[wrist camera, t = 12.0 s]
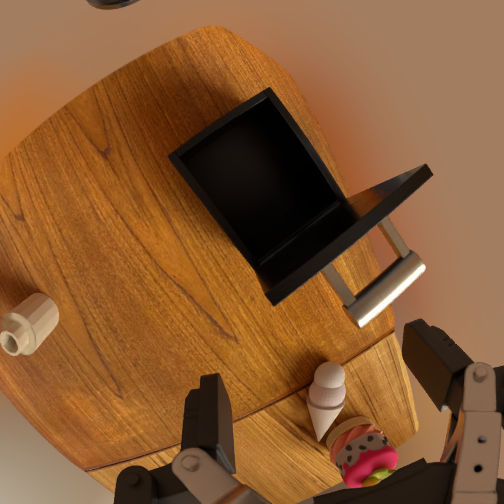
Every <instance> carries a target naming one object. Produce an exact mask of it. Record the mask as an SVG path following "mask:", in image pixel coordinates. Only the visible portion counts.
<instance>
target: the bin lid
mask: <svg viewBox="0 0 504 504" xmlns="http://www.w3.org/2000/svg"><path fill="white" fill-rule="evenodd" d="M432 176H433V173H432V172H431V170H430V168H429V167H428V165H427V164H423V165H421V166H419V167H417V168H414V169H412V170H410V171H408V172H405V173H403V174H401V175H399V176H396V177H394V178H392V179H390V180H387V181H385V182H383V183H380V184H378V185H376V186H374V187H371V188H369V189H367V190H365V191H362V192H361V193H358V194H356V195H353V196H351V197H349V198H347V199H346V200H344V201H343V202H342V203H341V204H339V205H338V206H337V207H335V208H334V209H333V210H332V211H330V212H329V213H328V214H326V215H325V216H324V217H323V218H321V219H320V220H319V221H317V222H316V223H315V224H314V225H312V226H311V227H310V228H308V229H307V230H306V231H305V232H303V233H302V234H301V235H299V236H298V237H297V238H295V239H294V240H293V241H292V242H290V243H289V244H288V245H286V246H285V247H284V248H282V249H281V250H280V251H278V252H277V253H276V254H275V255H273V256H272V257H271V258H269V259H268V260H267V261H265V262H264V263H263V264H261V265H260V266H259V267H258V268H256V269H255V270H254V271H255V274H256V276H257V278H258V281H259V283H260V285H261V287H262V290H263V292H264V294H265V296H266V297H267V299H268V300H269V301H270V302H271V304H272V305H273V306H274V307H275V306H276V305H277V304H279V303H280V302H281V301H283V300H284V299H285V298H287V297H288V296H289V295H291V294H292V293H293V292H295V291H296V290H297V289H298V288H300V287H301V286H302V285H304V284H305V283H306V282H307V281H309V280H310V279H311V278H313V277H314V276H315V275H316V274H318V273H319V272H321V273H322V275H323V276H324V277H325V279H326V280H327V282H328V283H329V284H330V286H331V287H332V289H333V290H334V291H335V293H336V294H337V296H338V297H339V298H340V300H341V301H342V303H343V304H344V305H343V306H342V308H343V310H344V312H345V314H346V315H347V316H348V318H349V319H350V320H351V321H352V323H353V324H354V325H355V326H356V327H357V328H358V329H362V328H363V327H364V326H365V325H366V324H368V323H369V322H370V321H371V320H372V319H373V318H375V317H376V316H377V315H378V314H379V313H380V312H381V311H383V310H384V309H385V308H386V307H387V306H388V305H389V304H391V303H392V302H393V301H394V300H395V299H396V298H397V297H398V296H399V295H400V294H401V293H403V292H404V291H405V290H406V289H407V288H408V287H409V286H410V285H411V284H412V283H413V282H414V281H415V280H416V279H417V278H418V277H419V276H420V275H421V274H422V273H424V271H425V265H424V263H423V261H422V259H421V258H420V257H419V255H418V254H416V253H415V252H414V251H412V250H409V249H408V247H407V246H406V244H405V242H404V241H403V239H402V237H401V236H400V234H399V233H398V231H397V230H396V228H395V227H394V225H393V223H392V222H391V220H390V219H389V218H388V215H389V214H390V213H391V212H392V211H393V210H395V209H396V208H397V207H398V206H399V205H400V204H402V203H403V202H404V201H405V200H406V199H407V198H408V197H410V195H412V194H413V193H414V192H415V191H416V190H417V189H419V188H420V187H421V186H422V185H423V184H424V183H425V182H426V181H427V180H428V179H430V178H431V177H432ZM376 225H377V226H378V227H379V229H380V230H381V232H382V233H383V235H384V236H385V238H386V239H387V241H388V242H389V244H390V245H391V247H392V249H393V250H394V252H395V253H396V255H397V257H398V258H397V259H396V260H395V261H394V262H393V263H392V264H391V265H390V266H389V267H387V268H386V269H385V270H384V271H383V272H382V273H381V274H379V275H378V276H377V277H376V278H375V279H374V280H373V281H371V282H370V283H369V284H368V285H367V286H366V287H364V288H363V289H362V290H361V291H360V292H358V293H357V294H356V295H355V296H354V295H353V293H352V292H351V291H350V289H349V288H348V286H347V285H346V283H345V282H344V280H343V279H342V278H341V276H340V275H339V273H338V272H337V270H336V269H335V268H334V266H333V265H332V263H331V262H333V261H334V260H335V259H336V258H338V257H339V256H340V255H341V254H342V253H344V252H345V251H346V250H347V249H349V248H350V247H351V246H352V245H353V244H355V243H356V242H357V241H358V240H359V239H361V238H362V237H363V236H364V235H365V234H367V233H368V232H369V231H370V230H371V229H373V228H374V227H375V226H376Z"/></svg>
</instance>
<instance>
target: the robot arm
mask: <svg viewBox="0 0 504 504" xmlns="http://www.w3.org/2000/svg"><path fill="white" fill-rule="evenodd" d="M402 356H403V360H404V362H405V364H406V365H407V366H408V368H409V369H410V370H411V372H412V373H413V374H414V376H415V377H416V379H417V380H418V381H419V383H420V384H421V386H422V387H423V388H424V390H425V391H426V393H427V394H428V395H429V397H430V398H431V400H432V401H433V403H434V404H435V405H436V407H437V408H438V410H439V411H440V412H441V411H443V410H445V409H447V408H449V409H450V410H451V413H450V417H449V423H448V430H447V435H446V441H445V446H444V450H443V454H442V457H441V459H440V462H433V463H426V461H425V459H424V458H422V459H420V460H418V461H416V462H413V463H411V464H409V465H407V466H404V467H402V468H400V469H398V470H397V471H395V472H394V473H392V474H391V475H389V476H388V477H386V478H385V479H384V480H382V481H380V482H379V483H377V484H376V485H373V486H368V487H360V488H351V489H342V490H338V491H335V492H331V493H328V494H324V495H320V496H316V497H313V500H314V504H504V480H503V479H500V478H497V474H498V467H499V457H500V443H501V426H502V428H503V429H504V366H500V367H496V368H492V367H491V366H490V365H488V364H486V363H482V362H476V363H474V362H473V361H472V360H471V358H469V357H468V355H467V354H466V353H465V352H464V351H463V350H462V349H461V348H460V347H459V346H458V345H457V344H455V342H454V341H453V340H452V339H450V337H449V336H448V335H447V334H446V333H445V332H444V331H443V330H441V329H439V328H437V327H435V326H431V327H430V326H429V325H427V323H426V322H425V321H424V320H423V319H417V320H415V321H413V322H409V323H406V324H405V326H404V333H403V344H402ZM184 410H185V411H184V419H183V429H182V441H181V450H180V452H179V453H178V454H177V455H176V456H175V457H174V458H173V461H172V462H171V463H169V464H168V465H165V466H162V467H159V468H156V469H153V470H150V471H148V470H147V469H146V468H144V467H142V466H136V465H135V466H130V467H127V468H125V469H124V470H122V471H121V472H120V474H119V475H118V477H117V481H116V489H115V497H114V504H272V503H270V502H269V501H268V500H266V499H265V498H264V497H262V496H261V495H260V494H258V493H257V492H256V491H254V490H253V489H252V488H251V487H249V486H248V485H246V484H244V485H243V484H242V483H240V482H239V481H238V480H237V479H235V478H234V477H233V476H232V475H231V474H236V468H235V455H234V440H233V425H232V410H231V404H230V400H229V396H228V394H227V391H226V389H225V386H224V384H223V381H222V378H221V376H220V374H219V373H214V374H209V375H203V376H201V378H200V388H199V389H192V390H191V391H190V392H189V394H188V396H187V397H186V399H185V407H184Z"/></svg>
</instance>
